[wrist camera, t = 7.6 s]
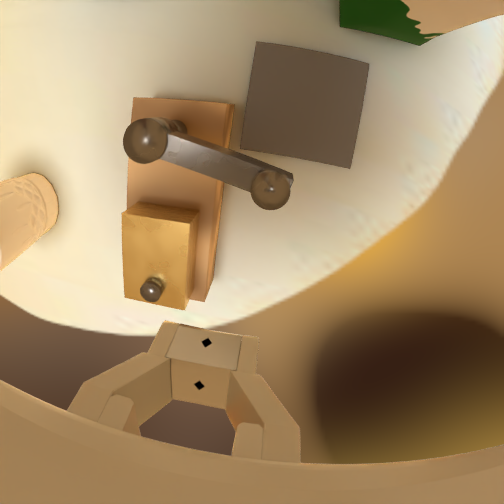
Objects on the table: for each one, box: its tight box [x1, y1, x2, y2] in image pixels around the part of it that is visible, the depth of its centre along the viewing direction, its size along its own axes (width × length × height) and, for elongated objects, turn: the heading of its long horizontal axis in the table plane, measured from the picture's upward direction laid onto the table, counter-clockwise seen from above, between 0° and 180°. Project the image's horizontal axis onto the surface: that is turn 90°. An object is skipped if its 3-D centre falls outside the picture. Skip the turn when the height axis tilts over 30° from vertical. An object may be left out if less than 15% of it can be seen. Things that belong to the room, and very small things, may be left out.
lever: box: [123, 117, 294, 210], centre depth 18 cm, size 10×3×4 cm, turn 69°
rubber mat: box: [240, 41, 369, 169], centre depth 23 cm, size 9×9×1 cm
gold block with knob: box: [122, 201, 200, 310], centre depth 24 cm, size 7×5×4 cm
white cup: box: [0, 173, 59, 272], centre depth 25 cm, size 8×8×10 cm
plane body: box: [127, 97, 235, 302], centre depth 25 cm, size 16×7×7 cm, turn 172°
